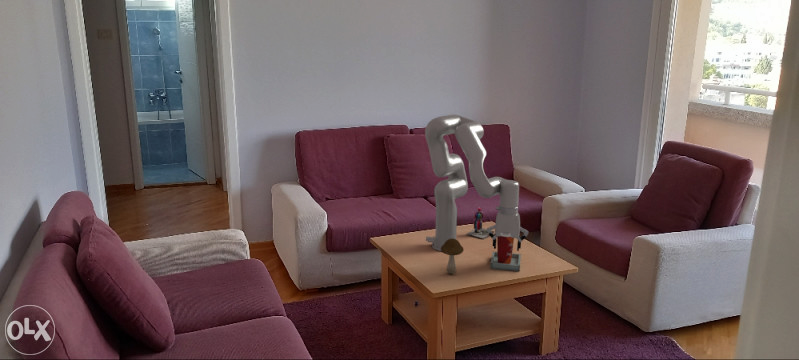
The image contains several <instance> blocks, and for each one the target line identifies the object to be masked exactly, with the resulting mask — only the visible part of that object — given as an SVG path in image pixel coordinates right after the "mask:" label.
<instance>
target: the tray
mask: <svg viewBox="0 0 799 360" xmlns="http://www.w3.org/2000/svg"><path fill="white" fill-rule="evenodd" d="M521 259H522V254H521V253H516V252H515V253H513V252H512V258H511V263H510V264H503V263H498V255H497V251H492V255H491V258H490V262H489V263H490V266H489V269H490V270H500V271H511V272H513V271H514V272H520V271H521V270H520V269H521V261H522V260H521Z"/></svg>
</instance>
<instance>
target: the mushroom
mask: <svg viewBox="0 0 799 360" xmlns="http://www.w3.org/2000/svg"><path fill="white" fill-rule="evenodd" d="M464 249H465V248H464V247H463V246H462V244H461V243H460V241H459V240H458V239H457V238H456V239H453V238H451V239H448V240H447V241H446V242H445V243H444V245H442V246H441V251H440V252H442V253H443V254H445V255H447V256H449V259H448V262H447V265H446V272H447V274H449V275H454V274H456V273H457V266H456V265H457V264H456V260H455V256H458V255H462V254H463V252H464Z"/></svg>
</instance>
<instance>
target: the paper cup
mask: <svg viewBox="0 0 799 360" xmlns="http://www.w3.org/2000/svg"><path fill="white" fill-rule="evenodd" d="M499 236H500V237H497V238H496V248H497V250H496V252H497V255H498V263H503V264H510V263H511V258H512V253H513V249H514V241H515V238H511V234H510V233H509V234H508V233H500V235H499Z"/></svg>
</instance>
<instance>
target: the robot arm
mask: <svg viewBox="0 0 799 360" xmlns="http://www.w3.org/2000/svg"><path fill="white" fill-rule="evenodd" d="M424 130H425V131H424V135H425V140H426V143H427V144H426V145H427V147H428V150H429V157H430V160H431V165H432V166H431V167H432V171H433V173H434V175H435V176H437V178H446V177H448V178H447V179H444V180H441V181H439V182H438V183H436V185H435V187H434V189H433V190H434V194H433V195H434V200H435V233H434V234H435V235H434V236H426V237H425V241H426V242H427V243H431V247H432V249H433V250H435V251H440V252H442V251H441V246H442V245H444V243H445V242H446V241H447V240H448V239H451V238H453V239H456V240H457V227H458V226H457V222H458V208H457V204H456V199H459V198H461V197H464V196H465V195H466V194H467V192H468V191H469V185H468V184H469V183H468V178H467V173H466V169H465V164H464V160H463V159H462V157H461V156H460V155H459V154H457V153H450V151H449V146H448V143H447V141H446V140H445V138H444V136H450V135H452V134H454V136H455V139H456V141H457V142H458V144H459V146H460V148H461V150H462V152H463V153H464V155H465V158H466V159H467V161H468V172H469V178H470V182H471V183H472V185H473V187H474V189H475V190H476V192H477V193H478V194H479V196H480V197H481V198H484V199H489V198H493V197H494V196H498V195H499V205H498V206H495V210H497V211H498V212H497V214H496V217H495V218H496V219H495V223H494V225H492V226H488V227H487V228H486V229H487V232H488V234H489V236H488V237H490V239H492V247H493V249H494V250H495V249H496V248H497V237H500V236H499V235H500V233H508V234H509V233H510V234H511V238H514V239H516V240H517V243H516V244H517V247H516V251H517V252H519V251H520V249H522V242H523V241H524V240H525V239H526V238H527V236H528V235H529V231H528V230H527V229H525V228H523V227H522V226H521V217H520V212H519V200H520V197H519V195H520V183H519V182H518V181H516V180H512V179H506V178H503V177H500V176H493V177H490V178H488V176H487V175H486V174H485V171H484V160H485V158H486V157H487V150H486V148H485V147H484V145H483V143H482V141H481V139H482V138H483V136H484V134H485V133H484V132H485V131H484V128H483V125H481V124H480V122H478V121H475V120H472V119H470V118H467V117H465V116H462V115H458V114H449V115H441V116H437V117H435V118H433V119H431V120H430V121H428V123H427V124H426V127H425V129H424ZM491 231H494V233H492V232H491ZM520 233H523V235H520Z"/></svg>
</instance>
